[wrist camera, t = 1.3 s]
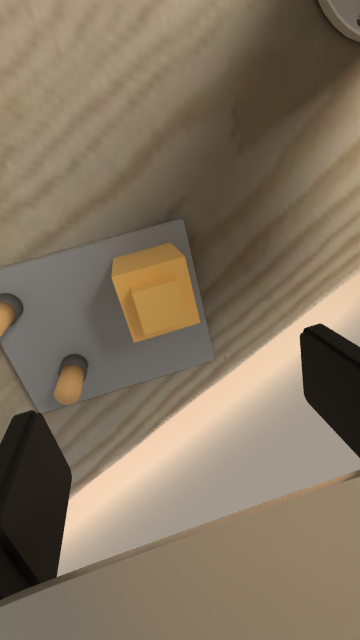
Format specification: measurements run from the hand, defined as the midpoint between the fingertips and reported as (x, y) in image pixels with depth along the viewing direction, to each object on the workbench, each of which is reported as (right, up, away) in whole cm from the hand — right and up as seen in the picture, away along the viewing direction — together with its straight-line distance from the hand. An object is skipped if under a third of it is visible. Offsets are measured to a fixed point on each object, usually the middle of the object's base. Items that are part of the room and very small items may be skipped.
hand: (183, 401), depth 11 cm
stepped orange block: (-3, +6, +16) cm, 18 cm away
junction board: (-7, +3, +18) cm, 20 cm away
